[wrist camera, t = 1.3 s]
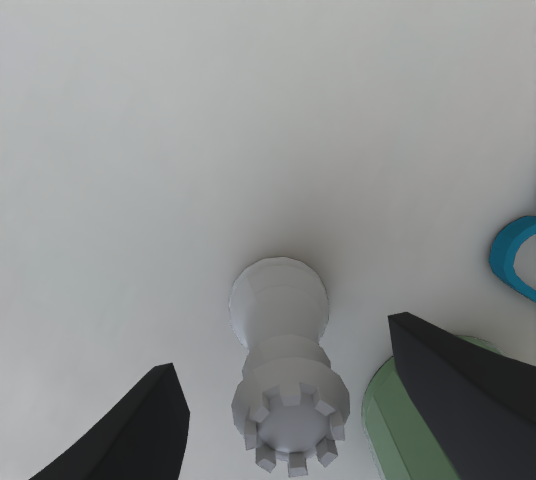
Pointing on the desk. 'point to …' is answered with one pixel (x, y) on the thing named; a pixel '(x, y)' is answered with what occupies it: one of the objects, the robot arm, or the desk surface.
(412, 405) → the planter
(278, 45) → the desk surface
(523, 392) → the robot arm
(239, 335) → the rook chess piece
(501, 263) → the scissors
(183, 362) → the desk surface
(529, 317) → the desk surface
